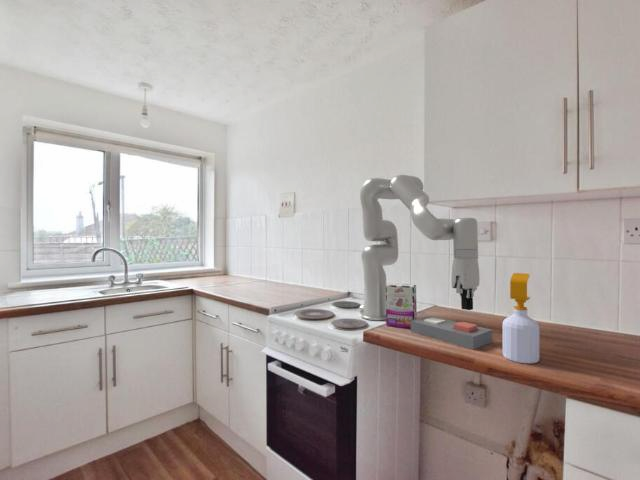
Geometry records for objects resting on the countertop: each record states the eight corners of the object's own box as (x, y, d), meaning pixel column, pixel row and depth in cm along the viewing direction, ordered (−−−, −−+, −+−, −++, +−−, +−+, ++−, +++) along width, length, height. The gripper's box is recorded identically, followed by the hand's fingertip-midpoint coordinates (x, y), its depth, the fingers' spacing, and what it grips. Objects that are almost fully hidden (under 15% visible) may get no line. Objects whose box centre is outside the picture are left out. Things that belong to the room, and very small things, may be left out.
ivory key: (423, 325, 121) (423, 319, 121) (432, 323, 125) (432, 317, 125) (436, 329, 117) (436, 322, 117) (445, 326, 120) (445, 320, 120)
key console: (410, 331, 122) (410, 320, 122) (430, 325, 129) (430, 315, 129) (473, 349, 103) (473, 336, 103) (492, 341, 110) (492, 329, 110)
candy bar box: (417, 326, 129) (416, 284, 129) (414, 329, 125) (414, 286, 124) (389, 322, 134) (388, 282, 134) (385, 326, 130) (385, 284, 130)
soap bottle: (541, 357, 96) (541, 273, 95) (535, 367, 89) (536, 276, 89) (506, 350, 102) (506, 271, 101) (499, 358, 95) (499, 274, 95)
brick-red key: (453, 330, 112) (453, 324, 112) (462, 328, 115) (462, 321, 115) (468, 334, 107) (468, 327, 107) (477, 331, 111) (477, 324, 111)
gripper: (467, 253, 118) (468, 304, 118) (442, 255, 109) (444, 310, 109) (488, 253, 112) (489, 307, 112) (464, 256, 103) (465, 314, 103)
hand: (467, 309), depth 110 cm, fingers closed
